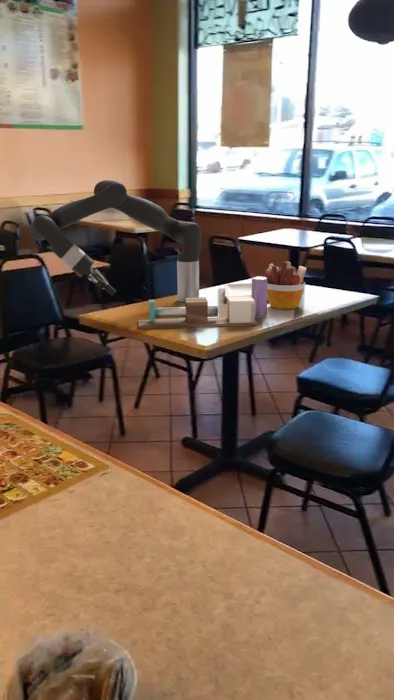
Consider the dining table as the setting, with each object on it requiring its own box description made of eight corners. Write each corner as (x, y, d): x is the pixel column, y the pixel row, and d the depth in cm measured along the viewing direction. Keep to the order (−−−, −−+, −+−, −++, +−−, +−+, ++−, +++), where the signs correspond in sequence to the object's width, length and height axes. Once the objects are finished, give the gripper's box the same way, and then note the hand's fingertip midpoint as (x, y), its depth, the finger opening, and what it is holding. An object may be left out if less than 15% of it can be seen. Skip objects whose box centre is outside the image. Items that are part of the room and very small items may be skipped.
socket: (226, 317, 239) (226, 296, 237) (250, 317, 239) (250, 296, 237) (229, 323, 231) (229, 301, 228) (254, 322, 231) (254, 300, 229)
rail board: (138, 322, 237) (137, 298, 235) (252, 319, 240) (253, 295, 238) (138, 328, 228) (137, 304, 225) (257, 325, 231) (257, 301, 228)
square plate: (224, 291, 295) (224, 283, 294) (283, 291, 294) (283, 283, 293) (224, 303, 269) (224, 294, 268) (289, 303, 268) (289, 294, 267)
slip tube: (149, 321, 230) (148, 302, 228) (149, 318, 235) (148, 299, 233) (218, 319, 232) (218, 300, 230) (216, 316, 236) (216, 297, 234)
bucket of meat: (266, 301, 271) (267, 254, 265) (305, 302, 267) (307, 255, 262) (261, 311, 252) (262, 261, 246) (303, 313, 249) (305, 262, 243)
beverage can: (265, 318, 241) (266, 279, 237) (250, 317, 242) (250, 278, 238) (267, 315, 247) (268, 276, 242) (252, 314, 248) (252, 276, 244)
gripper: (82, 255, 218) (120, 289, 222) (86, 250, 230) (122, 282, 235) (68, 271, 219) (106, 305, 223) (72, 265, 231) (108, 297, 236)
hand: (114, 293), depth 229 cm, fingers closed
